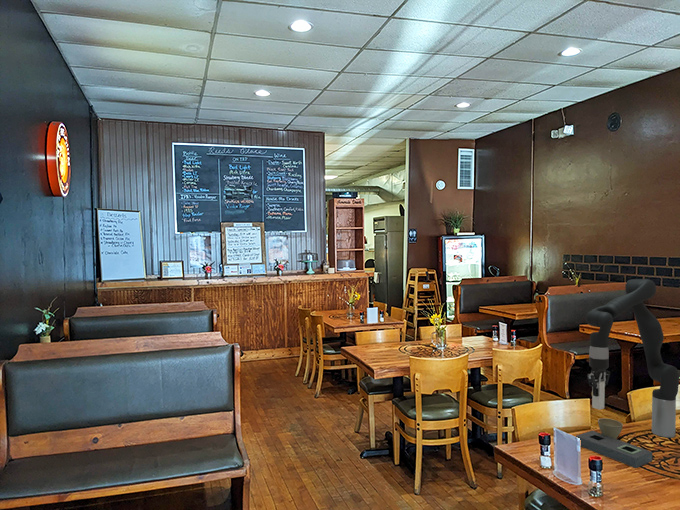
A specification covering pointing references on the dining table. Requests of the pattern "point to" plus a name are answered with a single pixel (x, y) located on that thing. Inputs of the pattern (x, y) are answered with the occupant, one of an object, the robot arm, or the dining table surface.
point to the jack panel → (615, 449)
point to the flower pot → (610, 427)
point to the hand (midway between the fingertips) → (598, 395)
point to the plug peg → (599, 397)
